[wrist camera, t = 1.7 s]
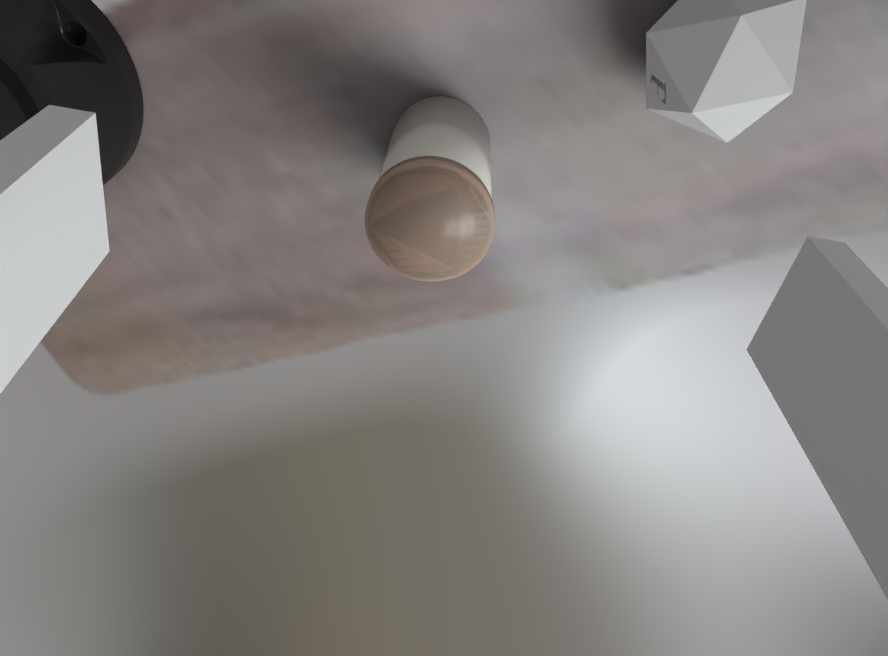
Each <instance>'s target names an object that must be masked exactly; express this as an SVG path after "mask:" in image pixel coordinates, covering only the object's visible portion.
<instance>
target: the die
mask: <svg viewBox="0 0 888 656" xmlns="http://www.w3.org/2000/svg"><path fill="white" fill-rule="evenodd" d="M805 6H806V0H678V1H677V2H676V3H675V4H674V5H673V6H672V7H671V8H670V9H669V10H668V11H667V12H666V13H665V14H664V15H663V16H662V17H661V18H660V19H659V20H658V21H657V22H656V23H655V24H654V25H653V26H652V27H651V29H650V30H649V31H648V32H647V33H646V109H648V110H651V111H653V112H655V113H658V114H660V115H662V116H665V117H667V118H669V119H672V120H674V121H677V122H679V123H681V124H684V125H686V126H688V127H691V128H693V129H695V130H698V131H700V132H702V133H705V134H707V135H709V136H712V137H714V138H717V139H719V140H721V141H724V142H726V143H728V142H729V141H730V140H731V139H733V138H734V137H735V136H737V135H738V134H739V133H741V132H742V131H743V130H744V129H746V128H747V127H748V126H750V125H751V124H752V123H754V122H755V121H756V120H757V119H759V118H760V117H761V116H763V115H764V114H765V113H767V112H768V111H769V110H771V109H772V108H773V107H774V106H776V105H777V104H778V103H780V102H781V101H782V100H784V99H785V98H786V97H787V96H789V95H790V94H791V93H793V87H794V81H795V74H796V67H797V60H798V54H799V47H800V40H801V33H802V27H803V20H804V13H805Z"/></svg>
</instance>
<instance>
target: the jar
mask: <svg viewBox="0 0 888 656" xmlns="http://www.w3.org/2000/svg"><path fill="white" fill-rule="evenodd" d="M494 227H495V217H494V206H493V202H492V199H491V158H490V137H489V132H488V129H487V127H486V125H485V123H484V121H483V119H482V118H481V116H480V115H479V114H478V113H477V112H476V111H475V110H474V109H473V108H472V107H471V106H469V105H468V104H466V103H465V102H463V101H460V100H458V99H455V98H452V97H446V96H436V97H429V98H425V99H423V100H420V101H418V102H416V103H414V104H413V105H411V106H410V107H409V108H408V109H407V110H406V111H405V112H404V113H403V114H402V115H401V117H400V118H399V120H398V121H397V123H396V126H395V128H394V131H393V135H392V138H391V141H390V144H389V147H388V150H387V153H386V157H385V160H384V163H383V166H382V169H381V172H380V175H379V179H378V181H377V183H376V184H375V186H374V188H373V190H372V192H371V195H370V197H369V200H368V203H367V207H366V212H365V229H366V234H367V237H368V240H369V243H370V245H371V247H372V249H373V250H374V252H375V253H376V255H377V256H378V257H379V258H380V259H381V260H382V262H384V263H385V264H386V265H387V266H388V267H389V268H391V269H392V270H394V271H395V272H397V273H399V274H401V275H403V276H406V277H408V278H411V279H415V280H420V281H431V282H434V281H444V280H449V279H452V278H455V277H458V276H460V275H462V274H464V273H466V272H468V271H469V270H471V269H472V268H473V267H474V266H476V265H477V264H478V263H479V262H480V261H481V260H482V258H483V257H484V256H485V254H486V253H487V251H488V249H489V247H490V245H491V242H492V239H493V235H494Z"/></svg>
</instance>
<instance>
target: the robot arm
mask: <svg viewBox="0 0 888 656" xmlns="http://www.w3.org/2000/svg"><path fill="white" fill-rule="evenodd" d="M142 123H143V98H142V91H141V86H140V82H139V78H138V75H137V71H136V69H135V66H134V63H133V61H132V58H131V56H130V54H129V52H128V50H127V48H126V46H125V44H124V42H123V41H122V39H121V37H120V36H119V34H118V33H117V31H116V29H115V28H114V27H113V25H112V24H111V23H110V21H109V20H108V19H107V17H106V16H105V15H104V14H103V13H102V11H101V10H100V9H99V8H98V7H97V6H96V5H95V4H94V3H93V2H92V1H91V0H0V393H1V392H2V391H3V389H4V388H5V387H6V385H7V384H8V383H9V382H10V380H11V379H12V377H13V376H14V375H15V374H16V372H17V371H18V370H19V368H20V367H21V366H22V365H23V363H24V362H25V361H26V359H27V358H28V357H29V355H30V354H31V353H32V352H33V350H34V349H35V348H36V346H37V345H38V344H39V342H40V341H41V340H42V338H43V337H44V336H45V335H46V333H47V332H48V331H49V329H50V328H51V327H52V325H53V324H54V323H55V322H56V320H57V319H58V318H59V316H60V315H61V314H62V312H63V311H64V310H65V308H66V307H67V306H68V305H69V303H70V302H71V301H72V299H73V298H74V297H75V295H76V294H77V293H78V292H79V290H80V289H81V288H82V286H83V285H84V284H85V282H86V281H87V280H88V278H89V277H90V276H91V275H92V273H93V272H94V271H95V269H96V268H97V267H98V265H99V264H100V263H101V262H102V260H103V259H104V258H105V256H106V255H107V254H108V252H109V243H108V233H107V222H106V212H105V202H104V192H103V185H104V184H105V183H107V182H108V181H109V180H110V179H111V178H112V177H113V176H114V175H116V174H117V173H118V172H119V171H120V170H121V169H122V168H123V167H124V166H125V165H126V163H127V162H128V161H129V159H130V158H131V156H132V154H133V153H134V151H135V149H136V146H137V144H138V141H139V138H140V134H141V130H142ZM747 351H748V353H749V355H750V356H751V358H752V360H753V362H754V363H755V365H756V367H757V369H758V370H759V372H760V374H761V376H762V378H763V379H764V381H765V383H766V385H767V386H768V388H769V390H770V392H771V393H772V395H773V397H774V399H775V401H776V402H777V404H778V406H779V408H780V409H781V411H782V413H783V414H784V417H785V418H786V420H787V422H788V424H789V425H790V427H791V429H792V431H793V432H794V434H795V436H796V438H797V440H798V441H799V443H800V445H801V447H802V448H803V450H804V452H805V454H806V455H807V457H808V459H809V460H810V463H811V464H812V466H813V468H814V469H815V471H816V473H817V475H818V477H819V478H820V480H821V482H822V484H823V486H824V487H825V489H826V491H827V493H828V494H829V496H830V498H831V500H832V502H833V503H834V505H835V507H836V509H837V510H838V512H839V514H840V516H841V517H842V519H843V521H844V523H845V524H846V526H847V528H848V530H849V532H850V533H851V535H852V537H853V539H854V540H855V542H856V544H857V546H858V548H859V549H860V551H861V553H862V555H863V556H864V558H865V560H866V562H867V564H868V565H869V567H870V569H871V571H872V572H873V574H874V576H875V578H876V579H877V581H878V583H879V585H880V587H881V588H882V590H883V592H884V594H885V595H886V597H887V599H888V288H887V287H886V286H885V285H884V284H883V283H882V282H881V281H880V280H879V279H878V278H877V277H876V275H875V274H874V273H873V272H872V271H871V270H870V269H869V268H868V267H867V266H866V265H865V264H864V263H863V262H862V260H860V258H859V257H858V256H857V255H856V254H855V253H854V252H853V251H852V250H851V249H850V248H849V247H848V246H847V245H846V244H845V243H843V242H837V241H832V240H826V239H820V238H814V237H809V236H808V237H807V239H806V241H805V243H804V244H803V246H802V248H801V250H800V252H799V254H798V256H797V257H796V259H795V261H794V263H793V265H792V267H791V268H790V270H789V272H788V274H787V276H786V278H785V280H784V282H783V284H782V285H781V287H780V289H779V291H778V293H777V295H776V296H775V298H774V300H773V302H772V304H771V306H770V307H769V309H768V311H767V313H766V315H765V317H764V319H763V320H762V322H761V324H760V326H759V328H758V330H757V331H756V333H755V335H754V337H753V339H752V341H751V343H750V344H749V346H748V348H747Z"/></svg>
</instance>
